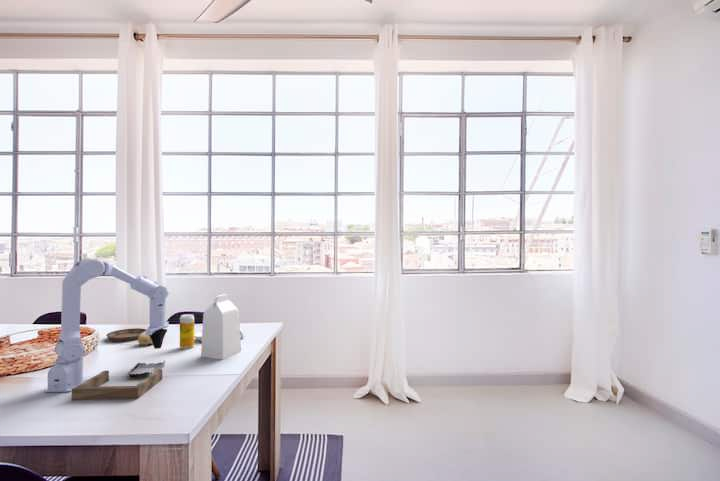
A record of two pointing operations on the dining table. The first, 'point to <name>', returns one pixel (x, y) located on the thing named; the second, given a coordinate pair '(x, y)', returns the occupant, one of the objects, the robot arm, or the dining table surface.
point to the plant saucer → (125, 334)
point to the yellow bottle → (186, 331)
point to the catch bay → (113, 388)
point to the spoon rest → (199, 335)
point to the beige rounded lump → (144, 339)
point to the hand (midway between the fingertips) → (157, 348)
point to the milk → (221, 329)
